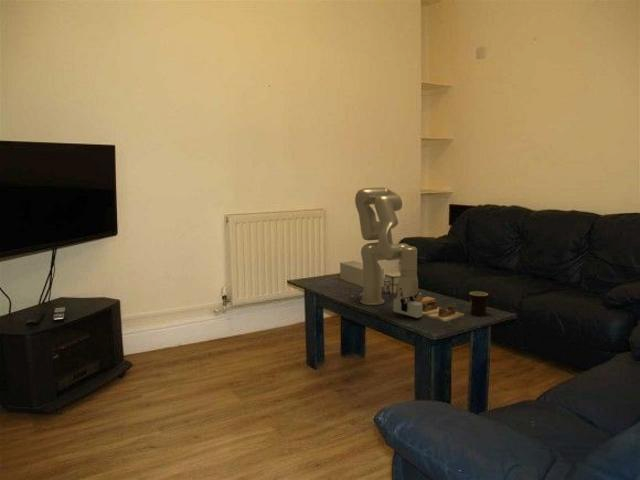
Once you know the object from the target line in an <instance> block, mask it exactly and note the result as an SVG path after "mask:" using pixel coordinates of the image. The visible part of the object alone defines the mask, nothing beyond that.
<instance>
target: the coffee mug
mask: <svg viewBox="0 0 640 480" xmlns="http://www.w3.org/2000/svg"><path fill="white" fill-rule="evenodd" d="M488 297H489V293H487V292H484V291H479V290H477V291H475V290H474V291H470V292H469V301H470V302H469V303H470V313H471V315H473V316H475V317H481V316H486V311H487V305H488Z"/></svg>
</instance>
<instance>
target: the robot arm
mask: <svg viewBox="0 0 640 480" xmlns="http://www.w3.org/2000/svg"><path fill="white" fill-rule="evenodd" d="M354 203H355V208H356V210H357V213H358V218H359V226H360V232H361V237H362V239H363V240H365V241H377V242H370V243H366V244H364V245H362V247H361V250H360V256H361V261H362V263H363V287H362V288H363V291H361V293H359V296H360V297H361V299H360V303H361V304H362V305H364V306H365V305H366V306H380V305H384V304H385V303H386V301H385V299H384V298H382V287H381V269H382V268H381V265H380V264H379V261H399V259H401V274H400V276H399V280H398V287H397V290H396V295H397V296H396V298H397V299H399V300H400V302H401V310H402V311H405V312H407V303H406V301H407V300H410V301H415V299H416V297H417V295H418V294H419V293H420V292H419V279H418V273H417V272H418V248H417V247H416V246H414V245H413V246H411V245H409V244H407V243H404V242H403V243H394V242H393V234H392V229H395V228H396V227H397V226H398V224H399V220H398V218H397V215H396V212H398V211H400V210H402V207H403V201H402V198H401V197H400V195H399V194H397V193H396V192H394V191H392V190H391V189H389V188H387V187H366V188H361V189H359V190H358V191H357V192H356V194H355V198H354ZM371 205H374V208H375V211H374V209H373V207H372V206H371ZM376 214H377V215H376ZM376 216H377V217H376ZM377 218H378V221H377ZM408 298H409V299H408Z"/></svg>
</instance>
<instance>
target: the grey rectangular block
mask: <svg viewBox="0 0 640 480" xmlns="http://www.w3.org/2000/svg"><path fill="white" fill-rule="evenodd" d="M339 265H340V266H339V272H340V273H339V275H340V278H339V279H340V280H342V279H343V280H342V281H344V282H348V283H351V284H353V285H356V286H359V287H362V288H363V262H359V261H356V260H351V261H344V262H343V261H342V262H339ZM384 270H385V269H384V268H381V288H385V285H384V280H385V274H384V273H385V272H384Z"/></svg>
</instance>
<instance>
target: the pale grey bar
mask: <svg viewBox="0 0 640 480" xmlns="http://www.w3.org/2000/svg"><path fill="white" fill-rule="evenodd" d="M406 303H407V312H405V311H402V310H401V302H400V300H399V299H397V297H395V298H393V310H392V311H393V312H395V313H398V314H402V315H406V316H409V317H413V318H415V319H418V318H420V317H423V315H422V306H423V304H422V303H418V302H414V301H410V299H407V301H406Z"/></svg>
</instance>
